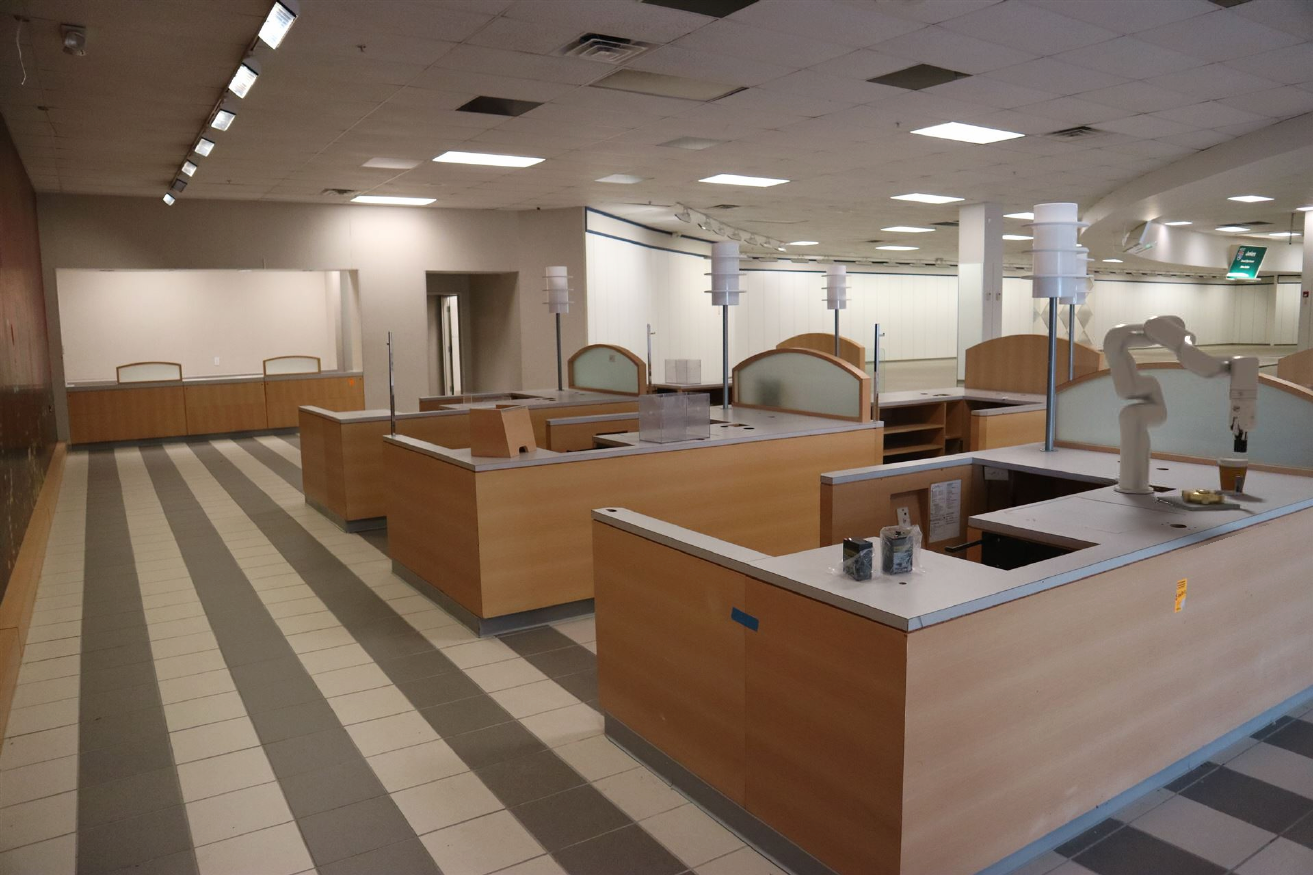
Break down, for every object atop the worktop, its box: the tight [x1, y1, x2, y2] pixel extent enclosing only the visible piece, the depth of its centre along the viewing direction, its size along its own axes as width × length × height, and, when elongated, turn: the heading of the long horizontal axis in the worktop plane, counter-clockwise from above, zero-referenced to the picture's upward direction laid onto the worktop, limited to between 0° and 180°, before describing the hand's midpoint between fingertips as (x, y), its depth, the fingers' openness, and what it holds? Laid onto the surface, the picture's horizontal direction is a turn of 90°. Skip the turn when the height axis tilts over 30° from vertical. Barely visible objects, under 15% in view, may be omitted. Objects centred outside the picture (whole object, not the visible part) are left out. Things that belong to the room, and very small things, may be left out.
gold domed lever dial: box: [1181, 476, 1244, 504], centre depth 295 cm, size 17×12×9 cm
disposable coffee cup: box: [1217, 456, 1250, 492], centre depth 314 cm, size 10×10×12 cm
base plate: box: [1156, 495, 1241, 512], centre depth 298 cm, size 17×17×1 cm
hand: (1240, 451), depth 286 cm, fingers closed
